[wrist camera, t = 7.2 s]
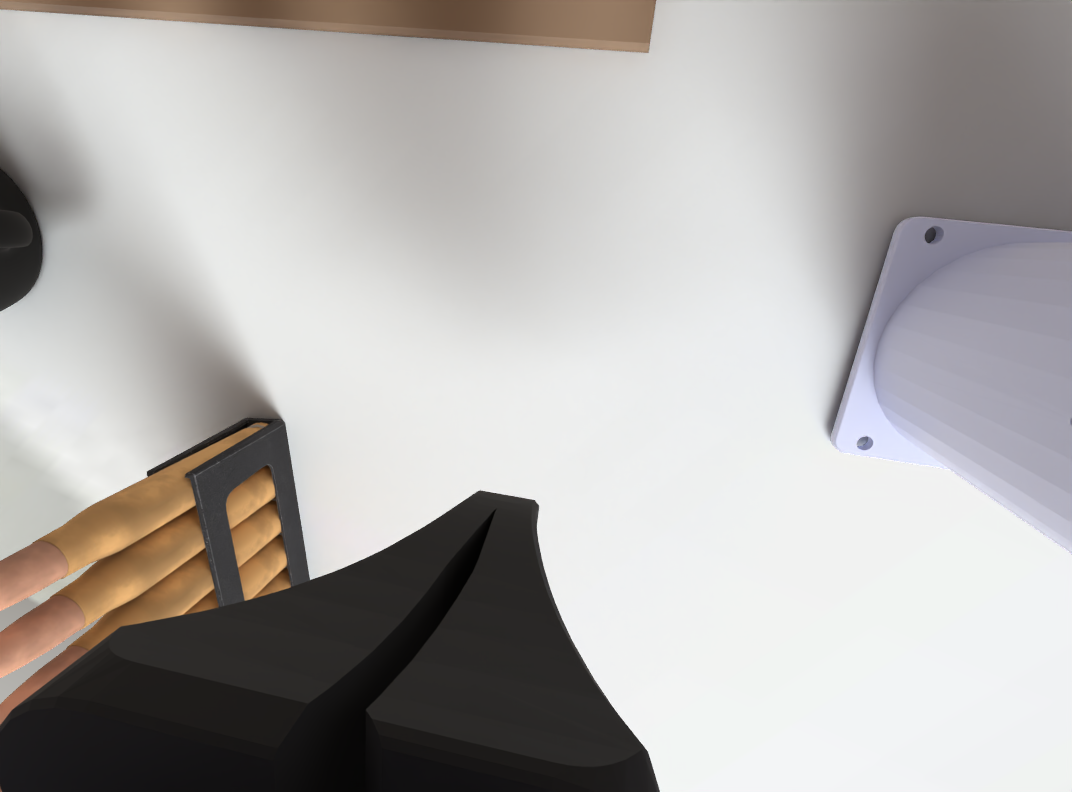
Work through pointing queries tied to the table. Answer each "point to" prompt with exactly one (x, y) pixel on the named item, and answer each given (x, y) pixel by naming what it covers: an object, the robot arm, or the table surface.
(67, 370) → the table surface
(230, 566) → the ammunition clip
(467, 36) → the plank
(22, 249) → the mug
